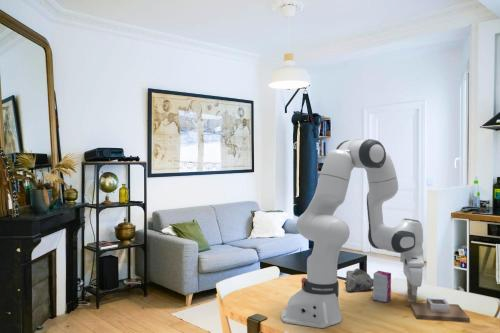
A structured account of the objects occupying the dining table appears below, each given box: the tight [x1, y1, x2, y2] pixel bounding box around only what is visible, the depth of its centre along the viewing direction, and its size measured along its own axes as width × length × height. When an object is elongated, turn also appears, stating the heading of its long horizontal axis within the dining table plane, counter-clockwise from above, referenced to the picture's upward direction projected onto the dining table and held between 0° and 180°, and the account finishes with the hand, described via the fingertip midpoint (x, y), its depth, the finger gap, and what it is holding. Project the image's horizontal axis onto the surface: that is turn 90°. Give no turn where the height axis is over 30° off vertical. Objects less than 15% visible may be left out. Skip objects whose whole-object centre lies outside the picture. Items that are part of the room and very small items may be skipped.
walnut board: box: [409, 301, 471, 323], centre depth 156 cm, size 18×14×2 cm
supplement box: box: [372, 270, 392, 304], centre depth 171 cm, size 6×6×12 cm
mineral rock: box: [345, 267, 373, 292], centre depth 184 cm, size 13×11×10 cm
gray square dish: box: [426, 297, 450, 313], centre depth 156 cm, size 7×7×3 cm
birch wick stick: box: [406, 278, 418, 303], centre depth 170 cm, size 3×3×10 cm
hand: (411, 291), depth 170 cm, fingers open, 8 cm apart
